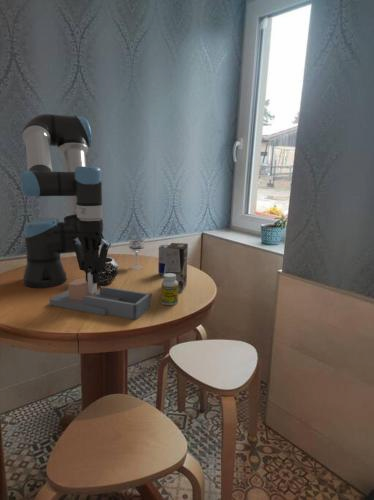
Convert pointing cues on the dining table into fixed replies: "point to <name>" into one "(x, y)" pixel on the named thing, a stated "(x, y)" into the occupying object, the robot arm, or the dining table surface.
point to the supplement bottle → (169, 289)
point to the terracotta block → (79, 289)
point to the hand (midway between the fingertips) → (92, 292)
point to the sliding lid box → (108, 302)
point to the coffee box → (177, 263)
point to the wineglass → (136, 249)
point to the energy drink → (162, 260)
